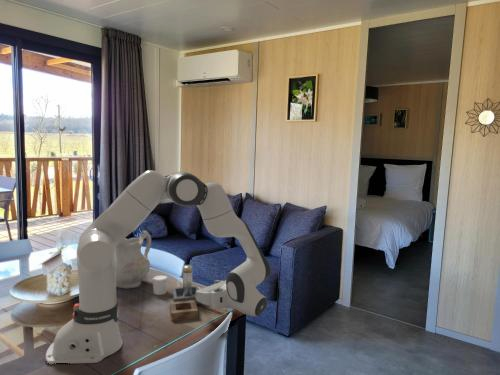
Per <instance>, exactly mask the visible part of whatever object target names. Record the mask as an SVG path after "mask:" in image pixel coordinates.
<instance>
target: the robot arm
mask: <svg viewBox="0 0 500 375" xmlns="http://www.w3.org/2000/svg"><path fill="white" fill-rule="evenodd" d="M168 199H169V200H170V201H171V202H173V203H174V204H176V205H178V206H181V207H191V206H196V207H197V208H198V210H199V213H200V216H201V218H202V221H203V224H204V226H205V228H206V231H207V232H208V233H209V234H211V235H212V236H214V237H216V238H233V237H234V239H236V240H238V242H239V244H240V246H241V248H242V249H243V251H244V253H245V255H246V260H245V261H244V262H242V263H241V264H239V265H238V266H236V267H235V268H234V269H232V270H231V271H230V272H229V273H228V274H227V275H226V278H225V280H218V279H215V280H213V284H211V285H208V286H205V287H202V286H200V285H196V286H197V287H196V300H197V301H198V302H200V303H202V304H201V305H205V306H208V307H209V306H210V307H211V309H213V310H218V309H229V308H230V309H234V310H236V311H237V312H239V313H242V314H244V315H246V316H250V317H259V316H260V315H262V313H263V312H264V311H265V310H266V308H267V306H268V298H267V297H266V296H265V295H264V294H262V293H260V291H259V290H258V289H257V287H258V285H260V284H261V283H263V282H264V281H266V280H268V279H269V278H270V277H271V271H272V270H271V269H272V268H271V265H270V262H269V261H268V259H267V258H266V256H265V255H264V254H263V252H262V250H261V248H260V247H259V244H258V243H257V240H256V238H255V236H254V235H253V233H252V231H251V229H250V227H249V225H248V224H247V222H246V221H245V220H244V219H243V218H240V217H238V216H237V214H236V213H235V210H234V208H233V206H232V203H231V201H230V199H229V196H228V195H227V193H226V191H225V189H224V188H223V186H222V185H221V184H220V183H218V182H215V181H213V182H205V183H204V182H203V181H202V180H201V179H200V178H198V177H197V176H196V175H195V174H192V173H190V172H187V171H178V172H174V173H171V174H168V175H163V174H162V173H160V172H159V171H157V170H150V169H149V170H145V171H144V172H143V173H142V174H140V175H139V176H137V177H136V178H135V179H134V180H132V182H131V183H129V184H128V185H127V187H125V189H124V190H123V191H122V192H121V194H119V195H118V196H117V198H115V200H114V201H113V202H112V203H111V204H110V206H109V207H108V208H106V210H104V211H103V212H102V213H101V214H100V215H99V216H98V217H97V218H96V219H94V220H93V222H91V224H90V225H89V226H87V228H86V229H84V231H83V232H82V233H81V234H80V236H79V239H78V244H77V248H76V265H77V267H76V268H77V277H78V278H77V279H78V298H79V300H78V302H79V303H75V304H74V305H73V308H72V309H73V310H72V319H71V320H69V321H68V322H67V323H65V324H64V325H63V326H62V327H60V328H59V330H58V331H57V333H56V334H55V337H54V340H53V342H52V343H51V344H50V345H49V347H48V348H47V349H46V352H45V362H46V361H47V362H46V364H48V363H49V364H48V365H57V364H56V363H68V364H69V363H70V364H71V365H72V364H95V363H100V362H101V361H102V360H103V359H105V358H106V357H109V356H111V355H113V354H115V353H117V351H119V350H120V349H121V348H122V346H123V343H124V342H123V339H122V337H121V336H122V335H121V332H120V329H119V322H118V321H119V313H120V312H119V303H118V301H117V287H116V283H117V282H116V246H117V245H118V244H119V243H120V242H121V241H122V240H123V239H124V238H127V236H129V235H130V234H131V233H133V232H134V231H135V230H137V229H138V227H139V226H140V225H141V224H142V223H143V222H144V221H145V219H147V217H149V215H150V214H151V213H152V211H154V210H155V208H156V207H157V206H158V205H159V204H160V203H162V202H163V201H164V200H168ZM54 363H55V364H54ZM68 364H67V365H68Z"/></svg>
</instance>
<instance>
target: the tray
mask: <svg viewBox="0 0 500 375" xmlns="http://www.w3.org/2000/svg"><path fill="white" fill-rule="evenodd" d="M197 286H198V285H192V296H187V297H183V286H180V287H172V288H171V294H172V295H171V296H172V302H180V301H190V300H195V303H196V306H198V305H203V304H202V303H200V302H198V301H197V300H196V287H197Z"/></svg>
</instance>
